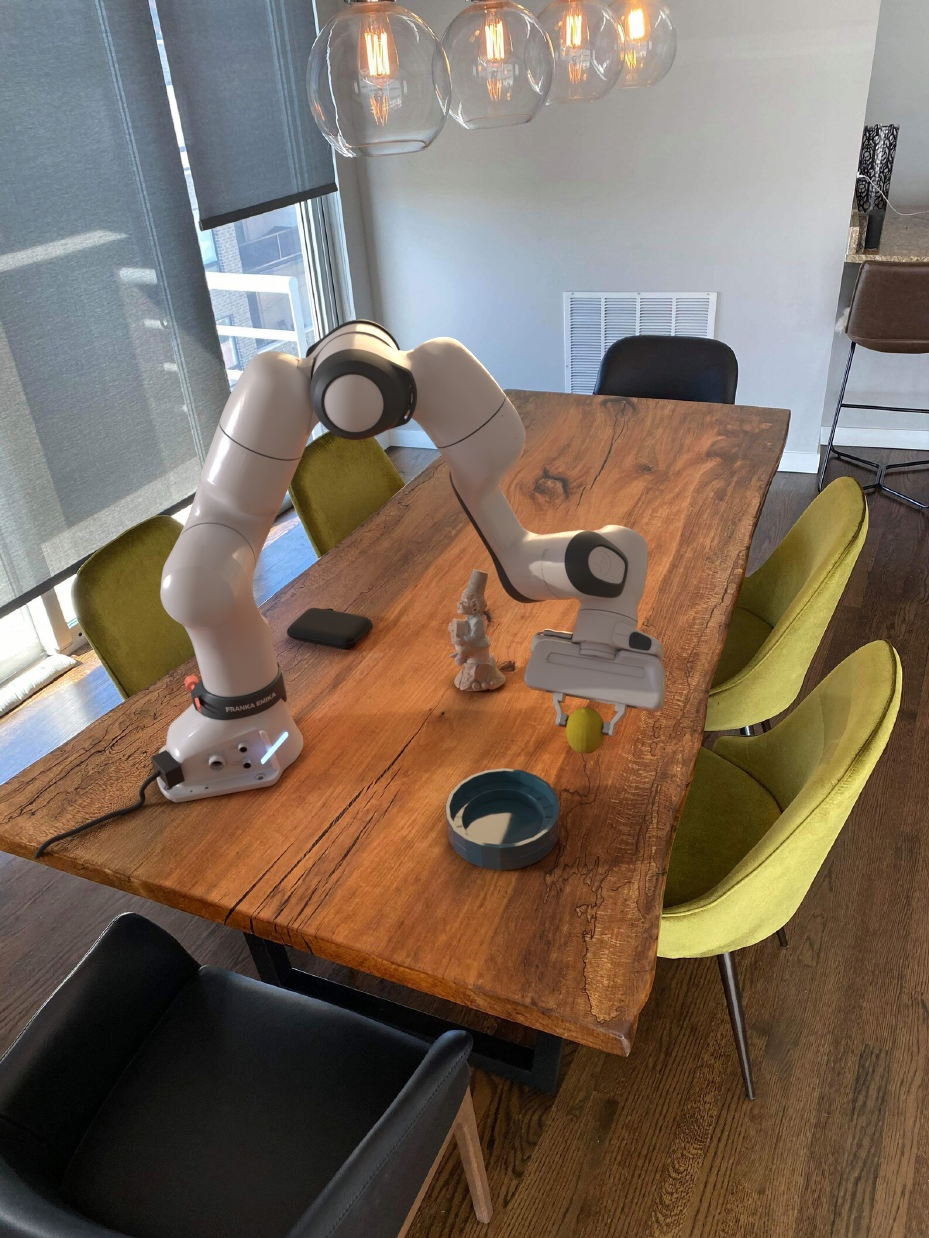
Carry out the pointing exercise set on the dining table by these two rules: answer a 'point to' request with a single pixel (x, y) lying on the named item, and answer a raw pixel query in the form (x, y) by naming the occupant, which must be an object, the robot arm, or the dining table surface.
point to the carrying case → (330, 628)
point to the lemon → (585, 730)
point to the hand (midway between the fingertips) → (584, 731)
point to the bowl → (503, 818)
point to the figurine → (474, 640)
